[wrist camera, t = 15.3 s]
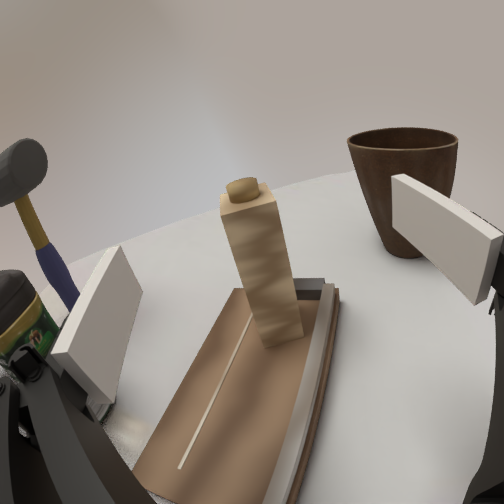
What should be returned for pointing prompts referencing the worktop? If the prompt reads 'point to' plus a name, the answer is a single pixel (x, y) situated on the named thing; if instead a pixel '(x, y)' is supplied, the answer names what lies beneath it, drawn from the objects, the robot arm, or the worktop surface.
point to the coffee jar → (28, 325)
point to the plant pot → (401, 172)
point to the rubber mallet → (16, 190)
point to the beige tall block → (262, 259)
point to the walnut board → (245, 409)
